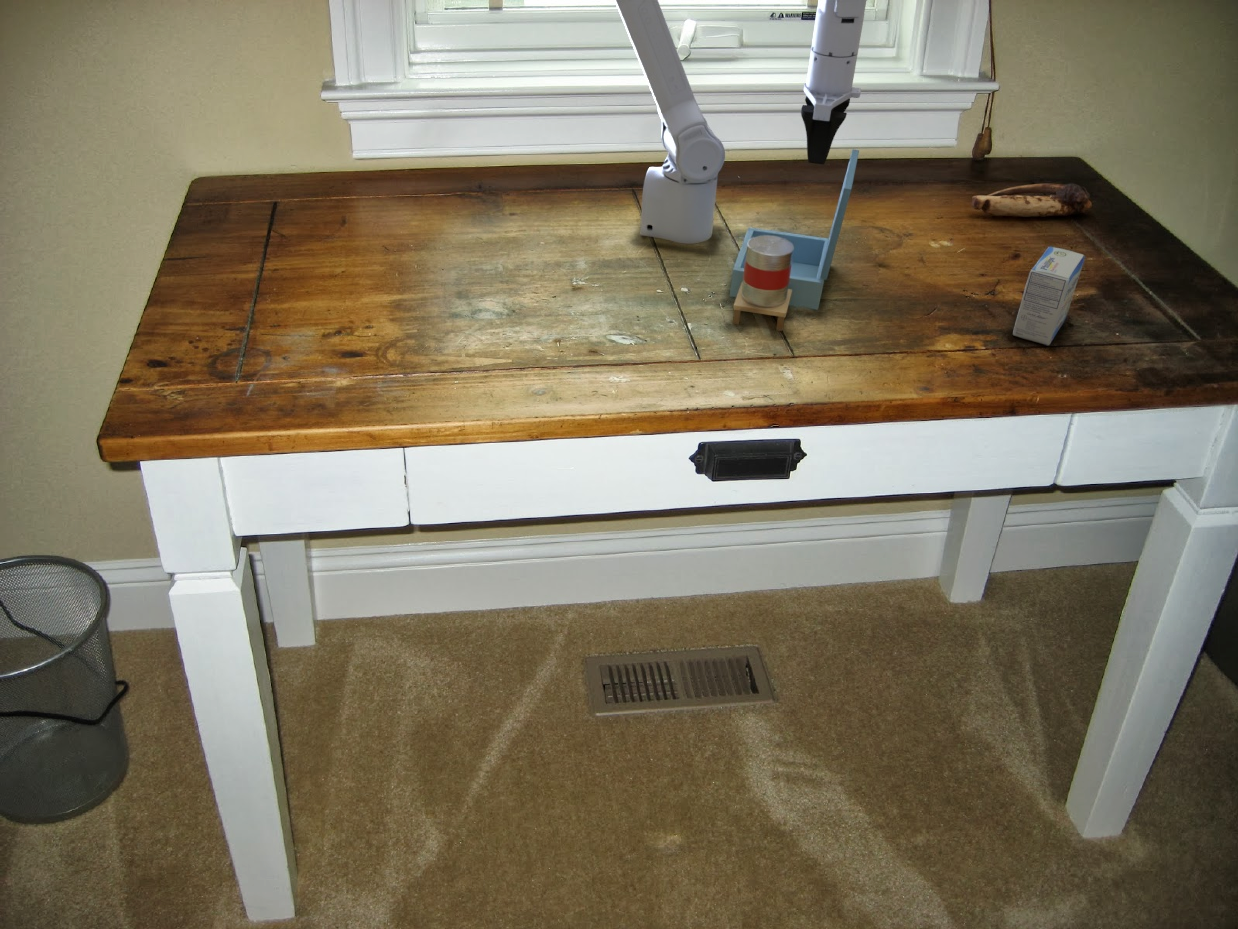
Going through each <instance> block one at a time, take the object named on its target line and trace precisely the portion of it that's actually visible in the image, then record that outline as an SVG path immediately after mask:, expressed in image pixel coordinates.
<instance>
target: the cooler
mask: <svg viewBox="0 0 1238 929" xmlns="http://www.w3.org/2000/svg"><path fill="white" fill-rule="evenodd" d="M763 235H770V236H777V237H781V238H784V239H786V240H788V241H790V242H791V243H792V244H793V246H794V252H793V258H792V266H791V273H790V280H789V285H788V289H791V290H792V295H791V298H790V302H789V306H788V307H794V308H795V307H796V308H803V309H809V310H816V311H818V310H819V307H820V301H821V298H822V292H823V288H824V283H825V280H824V279H820V275H821V271H822V267H823V262H824V258H825V253H826V249H827V244H828V240H829V237H827V238H826V237H819V236H813V235H807V234H806V235H805V234H799V233H792V232H784V231H777V230H772V229H771V230H770V229H764V228H756V227H751V226H750V227H749V226H748V227H747V231H746V233H745V236H744V238H743V241H742V244H741V247H740V249H739V252H738V254H737V257H736V259H735V261H734V265H733V268H732V272H731V273H732V274H731V280H730V283H731V284H730V290H729V297H730V298H731V297H732V298H736V297H737V294H738V291H739V289H740V286H741V283H742V282H743V275H744V267H745V259H746V252H747V244H748V241H749V240H750V239H751V238H753V237H756V236H763Z"/></svg>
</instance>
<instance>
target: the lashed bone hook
mask: <svg viewBox="0 0 1238 929" xmlns="http://www.w3.org/2000/svg"><path fill="white" fill-rule="evenodd" d="M1042 193H1044V194H1045V193H1046V194H1047V193H1048V194H1050V195H1026V194H1042ZM1023 194H1025V195H1023ZM1090 198H1091V195H1090V193H1089V192H1088V191H1087V188H1086V187H1084V186H1080V185H1078V184H1075V183H1067V184H1063V183H1061V184H1060V183H1035V184H1024V185H1017V186H1011V187H1008V188H1003V189H1001V190H997V191H994V192H992V193H990V194H987V195H983V194H982V195H981V194H980V195H973V196H972V198H971V206H972V208H973V209H974V210H977V211H981V210H982V212H983V213H985V214H989V215H992V216H1005V217H1008V216H1011V217H1014V218H1020V217H1021V218H1023V217H1024V218H1029V217H1035V218H1036V217H1041V218H1042V217H1044V218H1045V217H1046V218H1047V217H1060V216H1061V217H1067V216H1070V215H1075V214H1082V213H1083V214H1084V213H1087V212H1089V211H1090V210H1091V209H1092V207H1093V206H1092V202H1091V200H1090Z"/></svg>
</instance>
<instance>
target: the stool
mask: <svg viewBox="0 0 1238 929" xmlns="http://www.w3.org/2000/svg"><path fill="white" fill-rule="evenodd" d="M742 284H743V282H742V283H741V286H740V289H739V291H738V294H737V297H735V300H734V303H733V308H732V309H733V310H734V311H733V320H732V324H734V325H740V322H741V316H742V314H741V313H742V312H747V313H748V312H749V313H753V314H761V315H767V316H774V317H777V322H776V328H775V329H776V331H778V332H783V330H784V324H785V318H786V316H787V313H788V311H789V307H790V306H789V302H790V298H791V295H792V290H791V289H788V292H787V298H786V301H785V303H784V304H782V305H780V306H777V307H758V306H754V305H752V304H749V303H747V302H746V301H745V300H744V299H743V298H742V296H741V293H742Z"/></svg>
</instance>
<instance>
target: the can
mask: <svg viewBox="0 0 1238 929" xmlns="http://www.w3.org/2000/svg"><path fill="white" fill-rule="evenodd" d="M793 252H794V246H793V244H792V243H791V242H790V241H788V240H786V239H784V238H781V237H777V236H770V235H763V236H756V237H753V238H751V239H750V240H749V241H748V244H747V252H746V259H745V267H744V275H743V284H742V293H741V296H742V298H743V299H744V300H745V301H746V302H747V303H749V304H752V305H754V306H758V307H777V306H780V305H782V304H784V303H785V301H786V298H787V292H788V285H789V280H790V273H791V266H792V258H793Z"/></svg>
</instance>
